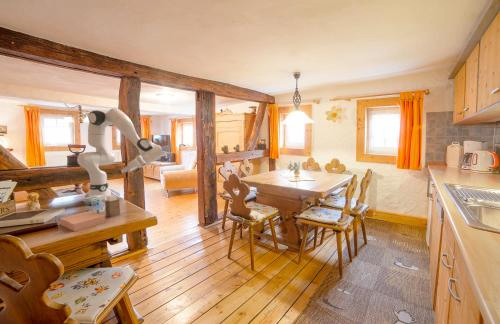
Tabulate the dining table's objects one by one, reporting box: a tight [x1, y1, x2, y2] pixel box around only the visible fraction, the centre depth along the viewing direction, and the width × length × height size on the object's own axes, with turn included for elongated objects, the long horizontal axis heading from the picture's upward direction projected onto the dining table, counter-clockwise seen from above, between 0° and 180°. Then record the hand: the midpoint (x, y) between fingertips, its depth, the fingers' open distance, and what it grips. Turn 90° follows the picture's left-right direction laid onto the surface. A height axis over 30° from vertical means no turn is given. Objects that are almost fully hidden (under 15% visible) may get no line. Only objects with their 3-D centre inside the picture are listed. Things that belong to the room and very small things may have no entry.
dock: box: [59, 211, 106, 232], centre depth 140 cm, size 18×16×4 cm
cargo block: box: [106, 194, 118, 202], centre depth 153 cm, size 4×4×3 cm
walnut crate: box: [104, 198, 121, 218], centre depth 154 cm, size 6×6×10 cm
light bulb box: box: [83, 195, 106, 214], centre depth 160 cm, size 11×7×11 cm, turn 168°
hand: (121, 172), depth 156 cm, fingers open, 8 cm apart
